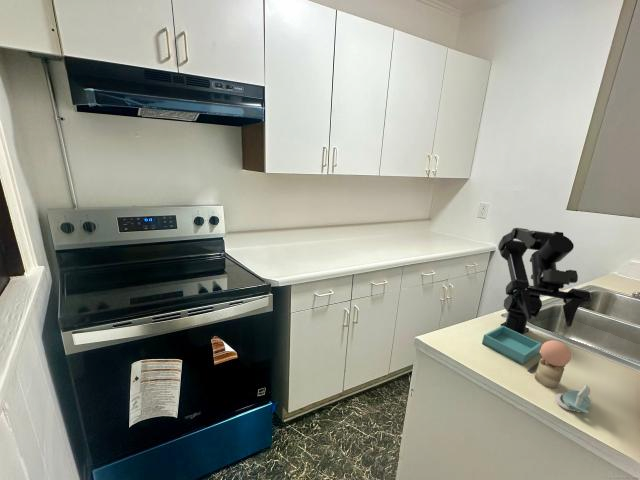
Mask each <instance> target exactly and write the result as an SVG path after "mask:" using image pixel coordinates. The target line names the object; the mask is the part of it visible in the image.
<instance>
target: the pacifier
mask: <svg viewBox="0 0 640 480" xmlns="http://www.w3.org/2000/svg"><path fill="white" fill-rule="evenodd" d="M590 394H591V389H590V387H589V386H588V385H587V384H585V385H583V386H582V388H581V389H579V390H575V389H574V390H573V389H572V390H568V391H565V392H559V393H558V394H556V396H555V401H556V403H557V405H558V406H560V407H561V408H563V409H564V410H567V411H570V410H571V411H572V412H575V411H581V413H583V414H584V413H585V414H589V410H588V408H590V406H591V404H592V402H591V398H590V397H589V395H590ZM561 399H562V400H561ZM563 402H564V403H565V404H564V403H563ZM568 405H569V406H568ZM574 410H575V411H574Z"/></svg>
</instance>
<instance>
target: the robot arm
mask: <svg viewBox="0 0 640 480" xmlns="http://www.w3.org/2000/svg"><path fill="white" fill-rule="evenodd" d="M497 249H498V251H499V254H500V256H501V257H502V258H503V259H504V260H505V261H507V267H508V272H509V275H510V276H509V277H510V282H508V284H507V285H506V286H505V294H506V295H507V296H506V297H505V299H504V300H503V308H504V309H505V311H506V312H507V316H506V320H505V321H504V322H502V323H500V327H501V326H505V327H507V328H509V329H511V330H513V331H515V332H517V333H520V334H522V335H523V334H526V333H527V332H528V331H530V328H528V327H527V325H528V321H529V320H530V321H531V319H532V317H534V318H537V317H538V315H539V313H540V311H541V310H542V307H543V302H542V299H541V298H540V297H541V296H544V297H549V298H556V299H563V303H564V304H562V309H563V313H564V320H565V323H566V327H568V328H570V327H572V325H573V323H574V318H575V315H576V312H577V310H578V308H581V307H583V306H585V305H586V304H588V303H589V302H591V301H593V298H592V294H591V292H590V291H588V290H586V289H585V290H584V289H579V288H571V289H570V290H568V291H561V290H560V289H564V287H565V286H564V285H568V286H569V285H570V284H576V283H577V282H578V281H579V280H578V279H579V276H578V272H577V270H575V269H574V270H573V269H567V270H565V271H564V270H559V269H557V263H559V262H561V261H562V260H563V259H564V258H566V257H567V256H568V255H569V254H570V253H571V252H572V251H573V249H574V243H573V242H572V240H571V239H570V238H569V237H567V236H566V235H564V232H562V231H554V232H547V231H546V232H545V231H540V230H530V229H528V228H522V227H513V228H512V229H511V232H508V233H507V234H505V235H503V236H502V238H501V239H500V241H499V243H498V248H497ZM528 250H532V251H533V250H534V252H533V253H531V255H530V258H529V262H530V263H531V270H532V271H531V272H532V274H531V275H530V280H532V284H533V285H530V283H529V278H528V275H527V271H526V267H525V262H524V260H523V257H524V255H525V253H526V252H527V251H528Z"/></svg>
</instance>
